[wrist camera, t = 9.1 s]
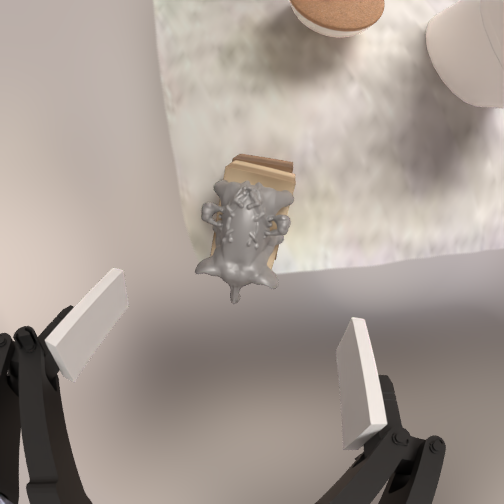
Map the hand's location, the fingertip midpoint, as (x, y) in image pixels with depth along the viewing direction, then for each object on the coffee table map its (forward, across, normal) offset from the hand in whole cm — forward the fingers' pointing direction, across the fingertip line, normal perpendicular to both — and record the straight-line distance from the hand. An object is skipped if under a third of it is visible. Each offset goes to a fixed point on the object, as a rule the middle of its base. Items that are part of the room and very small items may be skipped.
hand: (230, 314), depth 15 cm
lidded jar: (+25, +4, +27) cm, 37 cm away
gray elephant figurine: (+15, -1, -1) cm, 15 cm away
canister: (+25, +26, +29) cm, 47 cm away
